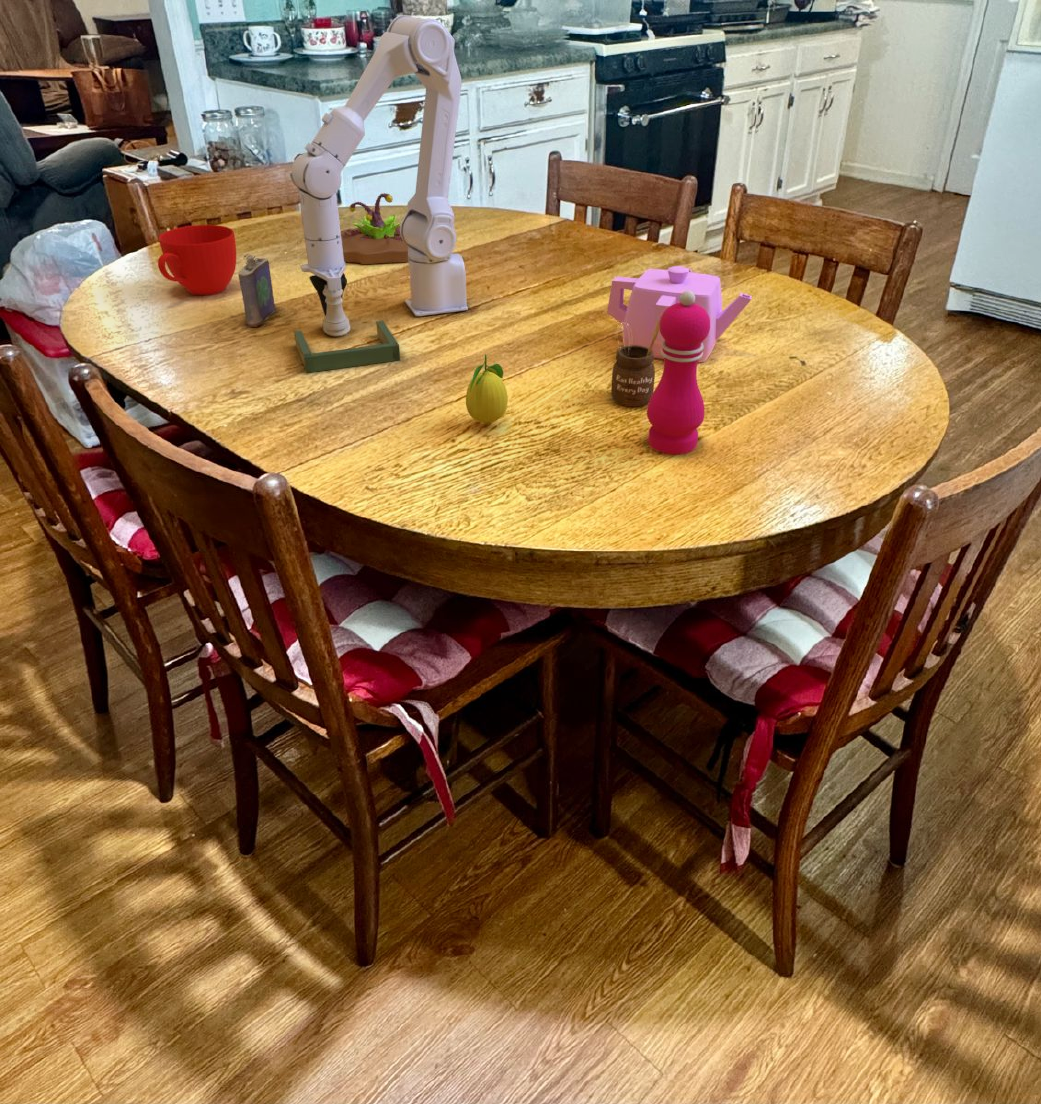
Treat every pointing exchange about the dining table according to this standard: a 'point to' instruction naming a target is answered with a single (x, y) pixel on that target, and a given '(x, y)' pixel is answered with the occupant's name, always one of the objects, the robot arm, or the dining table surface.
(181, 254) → the ceramic cup
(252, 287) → the flask
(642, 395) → the utensil holder
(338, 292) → the rook chess piece
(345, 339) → the dining table surface
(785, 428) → the dining table surface
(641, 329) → the teakettle
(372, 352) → the bay
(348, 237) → the plant
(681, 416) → the pepper mill
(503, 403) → the lemon
